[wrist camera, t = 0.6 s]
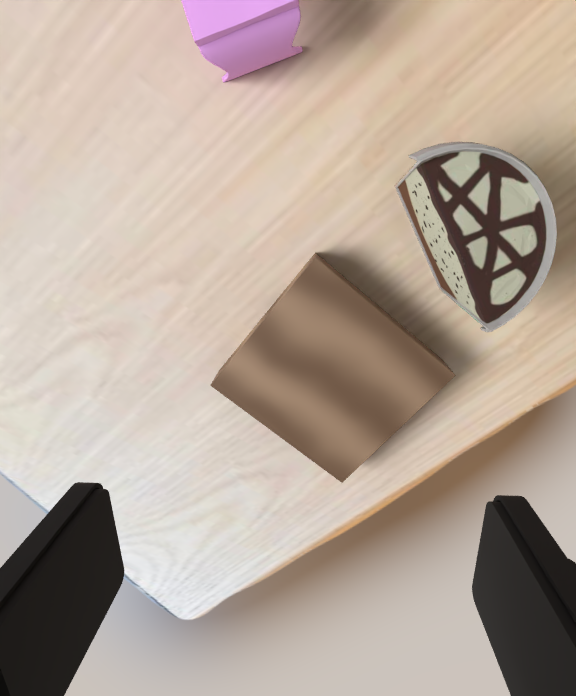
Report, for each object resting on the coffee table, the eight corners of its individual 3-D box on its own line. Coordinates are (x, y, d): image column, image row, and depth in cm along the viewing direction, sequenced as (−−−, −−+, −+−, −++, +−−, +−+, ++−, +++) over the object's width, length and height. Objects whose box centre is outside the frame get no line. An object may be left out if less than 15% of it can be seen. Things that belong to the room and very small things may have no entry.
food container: (516, 270, 34) (594, 294, 25) (445, 304, 35) (493, 339, 26) (462, 125, 31) (527, 88, 21) (386, 168, 32) (416, 151, 23)
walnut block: (315, 252, 35) (315, 257, 31) (441, 358, 37) (455, 375, 34) (220, 368, 39) (210, 385, 35) (339, 457, 41) (341, 482, 38)
